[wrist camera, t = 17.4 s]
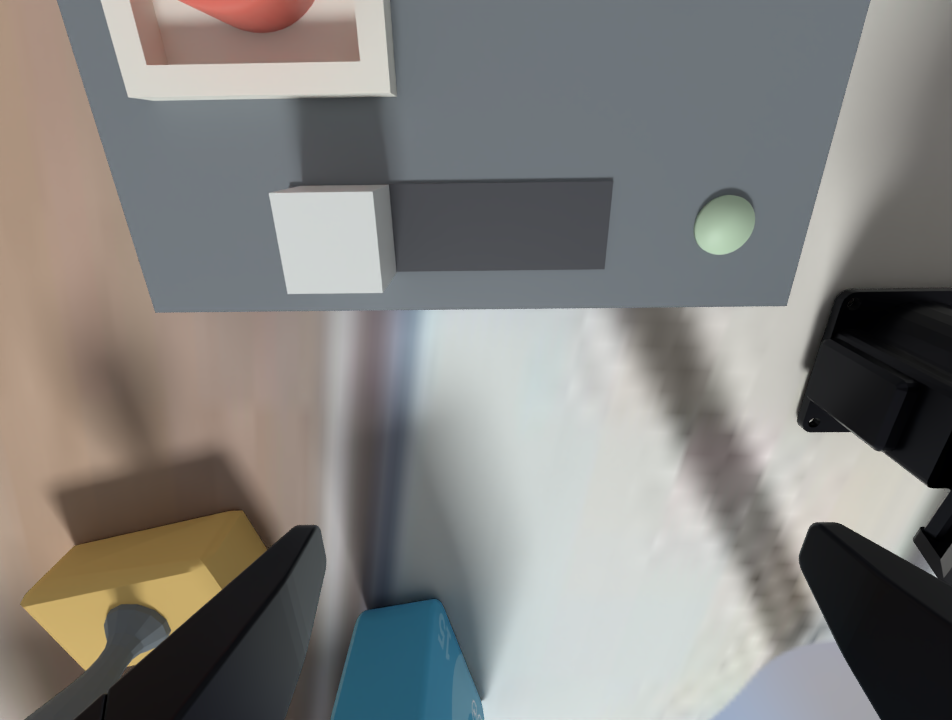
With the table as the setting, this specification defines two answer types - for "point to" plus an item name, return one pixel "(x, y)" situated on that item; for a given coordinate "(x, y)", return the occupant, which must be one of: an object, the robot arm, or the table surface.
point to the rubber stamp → (133, 596)
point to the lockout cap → (254, 12)
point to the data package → (406, 668)
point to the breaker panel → (476, 144)
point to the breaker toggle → (335, 238)
